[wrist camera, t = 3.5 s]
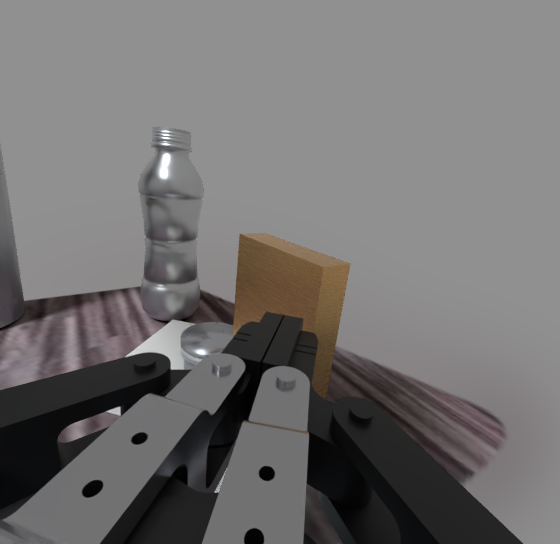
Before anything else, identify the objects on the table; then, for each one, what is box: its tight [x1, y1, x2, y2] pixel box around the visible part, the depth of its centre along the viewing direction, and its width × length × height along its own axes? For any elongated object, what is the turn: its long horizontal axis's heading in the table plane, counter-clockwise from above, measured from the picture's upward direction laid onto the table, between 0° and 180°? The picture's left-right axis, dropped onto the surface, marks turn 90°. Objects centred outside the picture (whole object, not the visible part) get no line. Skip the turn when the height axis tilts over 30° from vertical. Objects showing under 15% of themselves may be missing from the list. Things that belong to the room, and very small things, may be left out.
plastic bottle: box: [138, 127, 204, 321], centre depth 33 cm, size 6×7×20 cm
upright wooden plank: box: [180, 233, 350, 400], centre depth 20 cm, size 14×5×11 cm, turn 38°
